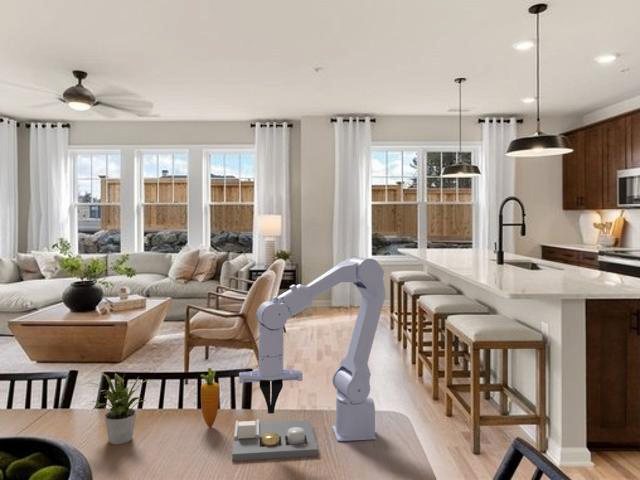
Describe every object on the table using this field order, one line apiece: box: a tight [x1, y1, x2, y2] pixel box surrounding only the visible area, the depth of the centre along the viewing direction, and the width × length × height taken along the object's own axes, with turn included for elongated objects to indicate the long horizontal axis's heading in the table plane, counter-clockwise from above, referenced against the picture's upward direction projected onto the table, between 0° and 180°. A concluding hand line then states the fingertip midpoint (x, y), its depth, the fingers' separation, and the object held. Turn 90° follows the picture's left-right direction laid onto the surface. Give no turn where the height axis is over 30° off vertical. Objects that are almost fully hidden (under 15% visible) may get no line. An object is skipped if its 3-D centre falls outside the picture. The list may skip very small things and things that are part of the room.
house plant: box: [86, 372, 150, 445], centre depth 112 cm, size 14×14×16 cm
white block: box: [238, 420, 256, 439], centre depth 111 cm, size 4×2×3 cm, turn 98°
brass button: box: [261, 432, 280, 447], centre depth 109 cm, size 4×4×2 cm
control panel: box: [231, 419, 319, 462], centre depth 112 cm, size 19×16×2 cm
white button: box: [287, 427, 306, 446], centre depth 109 cm, size 4×4×2 cm
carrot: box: [200, 367, 220, 428], centre depth 119 cm, size 5×5×15 cm
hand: (270, 411), depth 109 cm, fingers closed
